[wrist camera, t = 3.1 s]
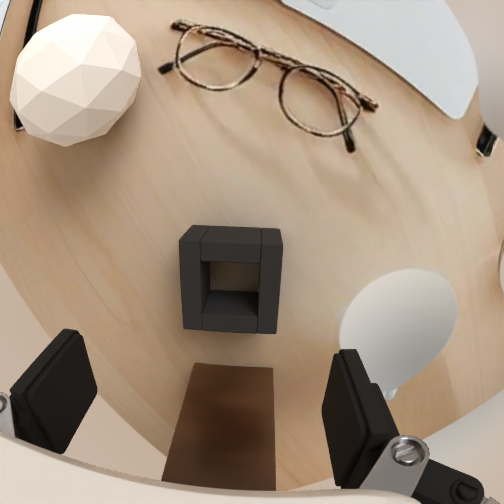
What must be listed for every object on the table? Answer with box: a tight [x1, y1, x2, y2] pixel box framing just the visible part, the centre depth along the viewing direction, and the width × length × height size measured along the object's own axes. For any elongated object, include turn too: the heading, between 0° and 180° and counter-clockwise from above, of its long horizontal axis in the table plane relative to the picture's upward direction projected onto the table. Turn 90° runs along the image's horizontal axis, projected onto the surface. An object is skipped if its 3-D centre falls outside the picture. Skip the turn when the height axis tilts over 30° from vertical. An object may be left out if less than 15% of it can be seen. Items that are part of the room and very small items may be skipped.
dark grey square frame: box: [179, 225, 283, 334], centre depth 19 cm, size 6×6×3 cm
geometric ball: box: [10, 14, 141, 147], centre depth 14 cm, size 8×8×8 cm
